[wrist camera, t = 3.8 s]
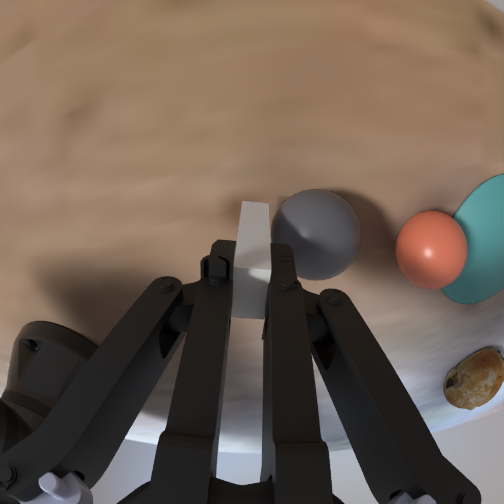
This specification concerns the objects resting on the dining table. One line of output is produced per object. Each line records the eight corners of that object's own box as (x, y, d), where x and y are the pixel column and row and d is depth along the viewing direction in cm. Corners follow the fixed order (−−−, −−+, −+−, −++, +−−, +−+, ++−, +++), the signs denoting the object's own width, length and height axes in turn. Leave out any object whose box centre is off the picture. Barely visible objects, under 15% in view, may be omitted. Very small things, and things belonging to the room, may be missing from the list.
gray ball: (264, 278, 21) (340, 277, 21) (280, 284, 15) (377, 281, 16) (264, 197, 21) (339, 201, 21) (280, 175, 15) (375, 182, 16)
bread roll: (456, 331, 33) (457, 379, 27) (515, 337, 29) (522, 383, 23) (436, 374, 38) (432, 417, 33) (490, 379, 34) (490, 421, 28)
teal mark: (468, 320, 27) (468, 322, 27) (410, 256, 22) (411, 257, 22) (547, 235, 21) (548, 236, 21) (513, 140, 17) (514, 141, 16)
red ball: (409, 272, 23) (436, 316, 19) (371, 236, 21) (398, 281, 17) (454, 227, 21) (490, 265, 16) (421, 184, 19) (462, 217, 15)
